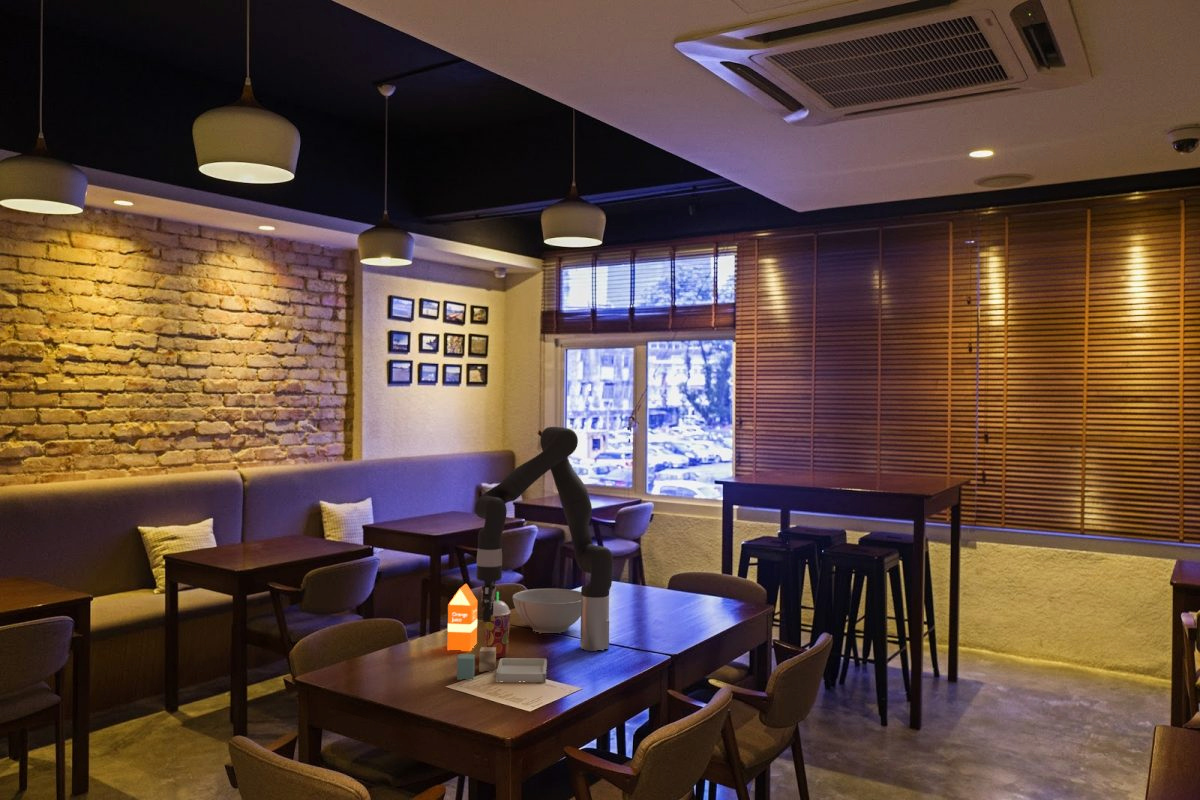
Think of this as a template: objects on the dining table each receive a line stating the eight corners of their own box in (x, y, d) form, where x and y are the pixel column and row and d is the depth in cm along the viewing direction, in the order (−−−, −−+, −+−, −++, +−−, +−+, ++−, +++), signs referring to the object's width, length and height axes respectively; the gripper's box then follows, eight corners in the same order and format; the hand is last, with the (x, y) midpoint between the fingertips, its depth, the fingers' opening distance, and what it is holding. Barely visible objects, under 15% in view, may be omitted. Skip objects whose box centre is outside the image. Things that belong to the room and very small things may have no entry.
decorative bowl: (499, 635, 302) (500, 600, 302) (528, 618, 327) (529, 586, 328) (573, 642, 294) (574, 606, 294) (597, 624, 320) (597, 591, 320)
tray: (546, 666, 265) (546, 658, 265) (545, 682, 249) (545, 673, 249) (500, 666, 264) (500, 658, 264) (495, 682, 248) (495, 673, 248)
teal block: (474, 675, 255) (474, 654, 255) (472, 679, 251) (473, 658, 251) (458, 675, 255) (459, 654, 255) (456, 679, 251) (457, 658, 251)
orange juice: (477, 644, 290) (478, 583, 290) (470, 651, 281) (471, 588, 281) (453, 643, 290) (455, 582, 291) (446, 650, 282) (447, 587, 282)
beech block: (495, 667, 263) (496, 647, 264) (494, 671, 259) (494, 651, 259) (480, 667, 263) (481, 647, 263) (479, 671, 259) (479, 651, 259)
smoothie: (494, 650, 282) (495, 588, 282) (515, 654, 278) (516, 591, 278) (477, 656, 275) (478, 592, 275) (499, 660, 270) (500, 595, 271)
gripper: (500, 567, 255) (498, 624, 254) (503, 560, 269) (502, 613, 269) (474, 567, 255) (472, 623, 254) (479, 559, 269) (478, 613, 268)
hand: (488, 618), depth 261 cm, fingers open, 8 cm apart
